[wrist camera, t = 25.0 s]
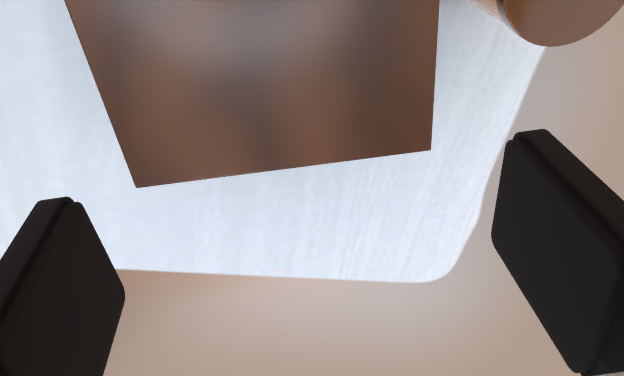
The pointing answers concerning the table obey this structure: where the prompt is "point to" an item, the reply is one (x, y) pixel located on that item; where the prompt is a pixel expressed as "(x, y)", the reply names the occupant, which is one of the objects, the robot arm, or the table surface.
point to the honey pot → (551, 18)
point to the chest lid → (260, 81)
